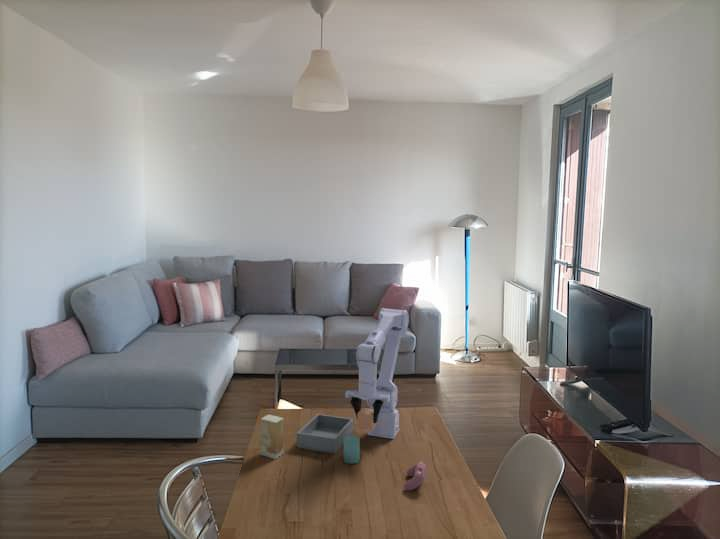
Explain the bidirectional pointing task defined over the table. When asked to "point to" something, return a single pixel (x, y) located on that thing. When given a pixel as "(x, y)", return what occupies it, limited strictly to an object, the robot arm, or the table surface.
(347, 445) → the teal cylinder
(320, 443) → the tote
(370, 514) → the table surface
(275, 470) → the table surface
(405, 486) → the pink curved lump
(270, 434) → the skincare box
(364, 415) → the terracotta cube
